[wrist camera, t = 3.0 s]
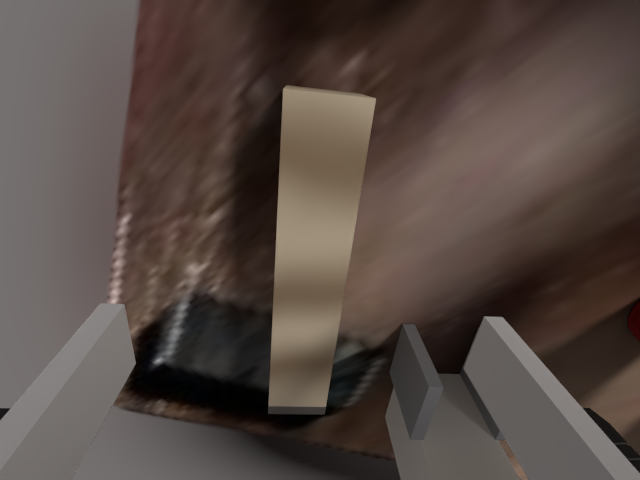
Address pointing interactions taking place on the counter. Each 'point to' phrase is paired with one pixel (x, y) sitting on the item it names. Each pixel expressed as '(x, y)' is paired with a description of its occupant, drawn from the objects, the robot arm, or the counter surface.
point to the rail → (314, 238)
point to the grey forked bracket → (440, 420)
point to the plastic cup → (635, 321)
